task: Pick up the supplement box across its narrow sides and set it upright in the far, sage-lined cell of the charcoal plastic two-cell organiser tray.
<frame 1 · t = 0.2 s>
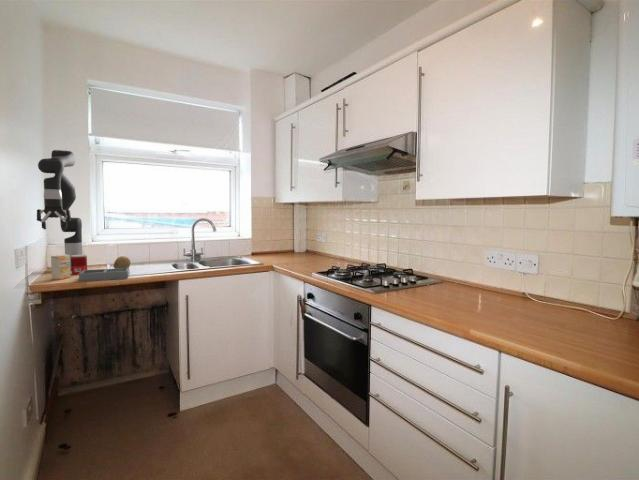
hand: (54, 229, 186), 28 cm above the table, fingers open, 8 cm apart
natural sponge: (122, 272, 217), on the table
organiser tray: (105, 277, 200), on the table
supplement box: (61, 278, 196), on the table
canned food: (79, 273, 212), on the table
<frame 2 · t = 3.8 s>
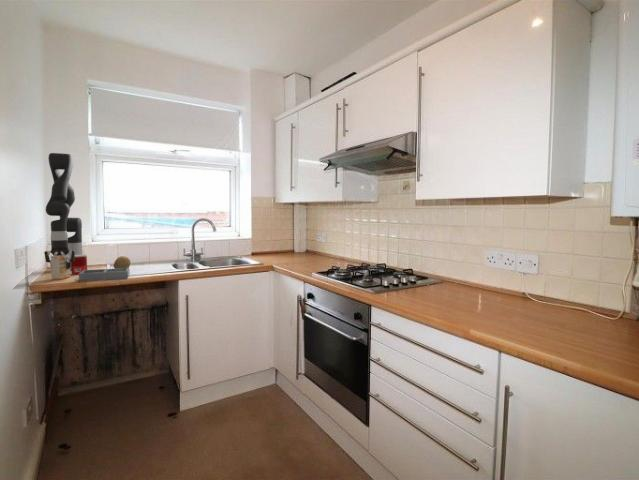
hand: (60, 269, 196), 5 cm above the table, fingers closed on supplement box, 6 cm apart
supplement box: (61, 278, 196), on the table, touching gripper
everything else where it was.
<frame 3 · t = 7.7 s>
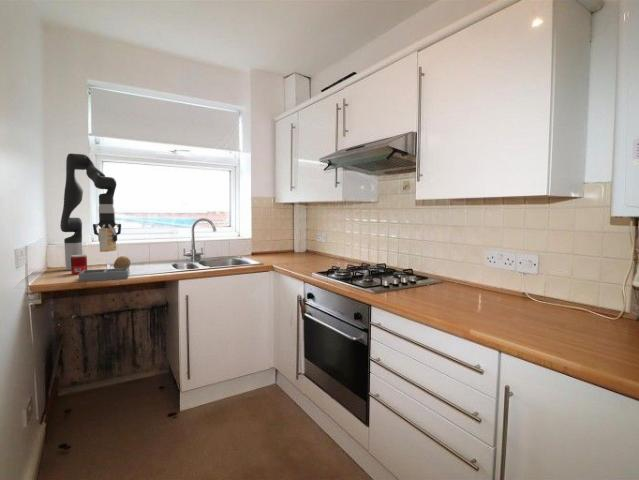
hand: (108, 242, 199), 20 cm above the table, fingers closed on supplement box, 6 cm apart
supplement box: (108, 251, 199), point 15 cm above the table, touching gripper
everything else where it was.
when the fingers open (7 cm above the table, at t = 11.4 s): supplement box drops 1 cm, resting on organiser tray.
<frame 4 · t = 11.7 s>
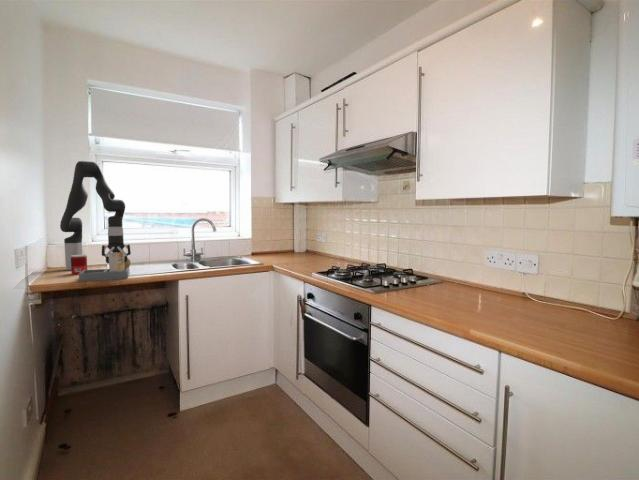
hand: (116, 262, 201), 8 cm above the table, fingers open, 8 cm apart
supplement box: (117, 275, 202), point 1 cm above the table, touching organiser tray
everything else where it was.
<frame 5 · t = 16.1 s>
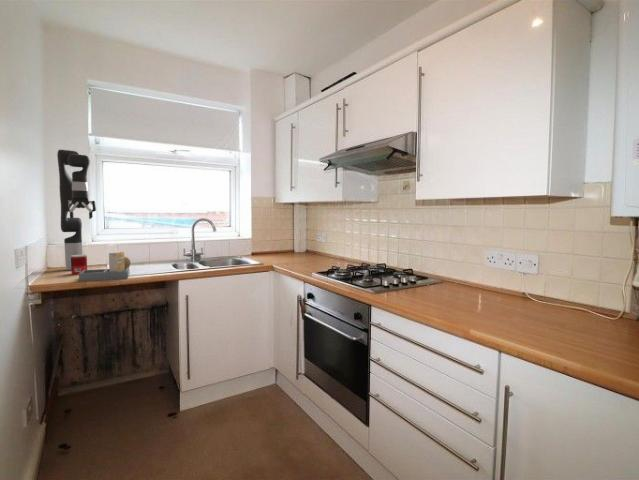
hand: (81, 218, 201), 33 cm above the table, fingers open, 8 cm apart
nothing on the table moved.
at the end: supplement box inside the target area on the organiser tray (0.2 cm from its centre), point 1.0 cm above the organiser tray's base; supplement box tilted 0°; the gripper is holding nothing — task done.
